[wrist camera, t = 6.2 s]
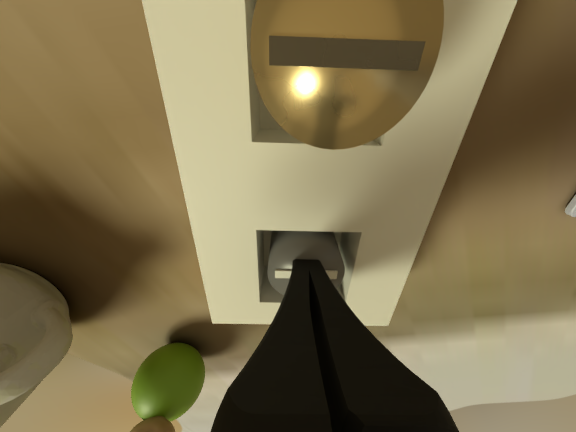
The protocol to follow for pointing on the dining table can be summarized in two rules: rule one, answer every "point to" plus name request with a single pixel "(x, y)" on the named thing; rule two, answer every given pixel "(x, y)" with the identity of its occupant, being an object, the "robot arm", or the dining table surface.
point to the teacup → (29, 334)
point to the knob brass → (343, 64)
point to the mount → (307, 158)
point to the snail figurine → (166, 386)
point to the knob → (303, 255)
